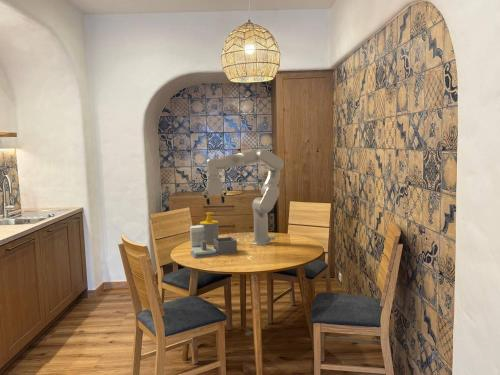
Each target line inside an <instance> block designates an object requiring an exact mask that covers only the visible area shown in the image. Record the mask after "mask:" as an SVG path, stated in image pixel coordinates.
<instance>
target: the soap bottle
mask: <svg viewBox="0 0 500 375" xmlns="http://www.w3.org/2000/svg"><path fill="white" fill-rule="evenodd" d="M214 214H215V213H214V212H206V216H207V217H206V219H205V220H203V221H200V222H199V225H203V226H204V232H205V241H206V245H214V239H215V238H219V222H220V221H218V220H213V218H212V216H211V215H214Z"/></svg>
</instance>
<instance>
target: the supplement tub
mask: <svg viewBox="0 0 500 375" xmlns="http://www.w3.org/2000/svg"><path fill="white" fill-rule="evenodd" d="M189 235H190V248H191V249H192V248H197V247H201V240H205V232H204V226H203V225H200V224H197V225H191V226H190V227H189Z"/></svg>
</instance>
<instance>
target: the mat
mask: <svg viewBox="0 0 500 375" xmlns="http://www.w3.org/2000/svg"><path fill="white" fill-rule="evenodd" d="M190 254H191V255H192V257H193V258H195V259H199V258H207V257H208V258H210V257H217V256H218V254H217V253H213V254H206V255H195V253H194V252H193V251H192V250H191V251H190Z"/></svg>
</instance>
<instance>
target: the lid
mask: <svg viewBox="0 0 500 375" xmlns="http://www.w3.org/2000/svg"><path fill="white" fill-rule="evenodd" d="M191 251H193V252H194V253H195V255H206V254H213V253H216V250H215V249H214V246H213V245H207V244H206V241H205V240H201V247H197V248H191Z"/></svg>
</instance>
